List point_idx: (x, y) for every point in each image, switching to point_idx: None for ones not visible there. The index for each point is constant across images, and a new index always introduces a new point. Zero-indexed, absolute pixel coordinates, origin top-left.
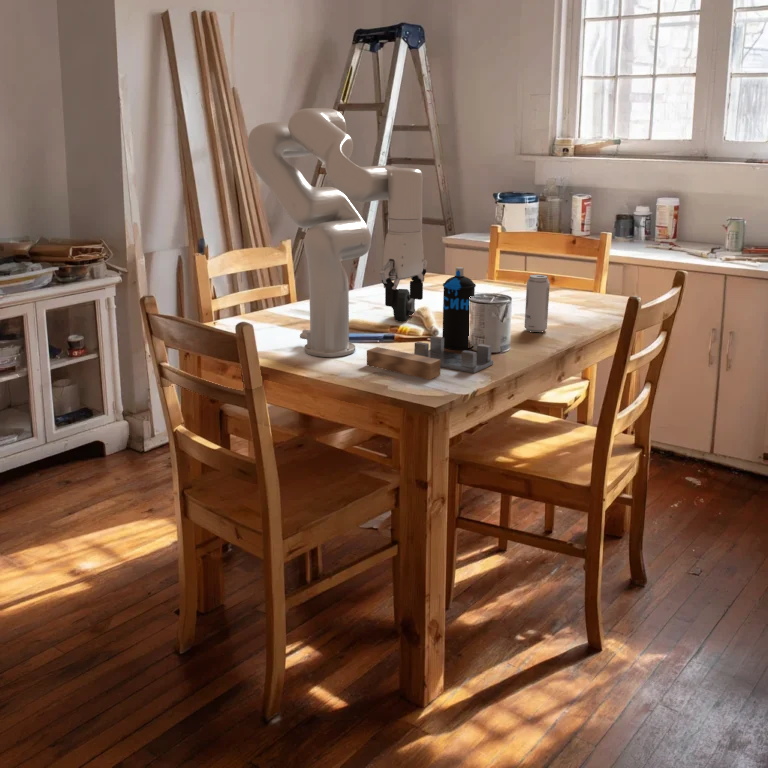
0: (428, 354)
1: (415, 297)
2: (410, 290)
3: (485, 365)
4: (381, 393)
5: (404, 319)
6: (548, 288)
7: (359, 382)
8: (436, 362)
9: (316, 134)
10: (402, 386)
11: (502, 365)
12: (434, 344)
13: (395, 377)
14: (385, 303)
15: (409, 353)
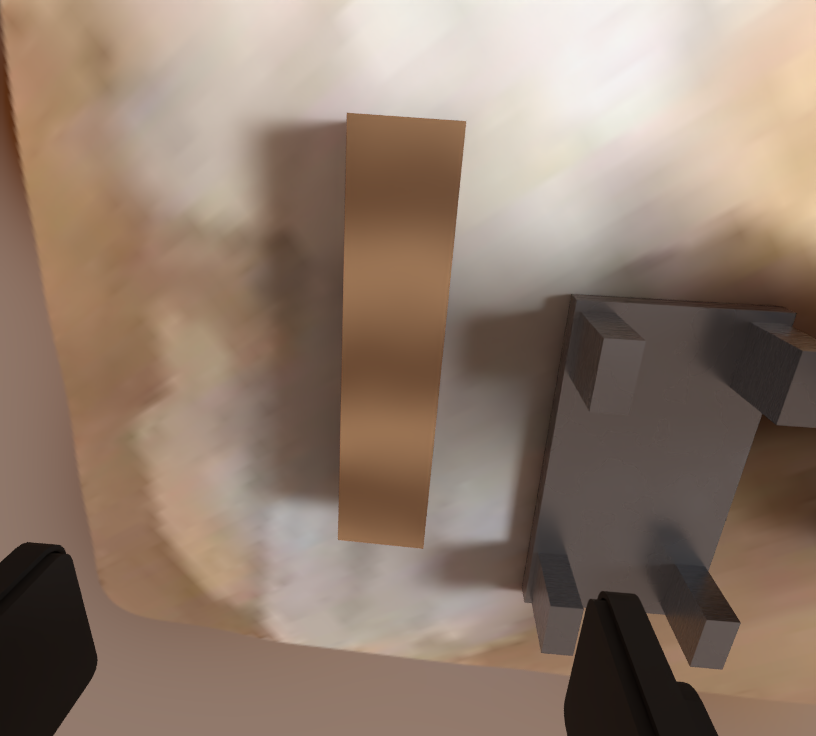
0: (668, 349)
1: (580, 672)
2: (622, 701)
3: None
4: (75, 423)
5: None
6: None
7: (111, 267)
8: (387, 541)
9: None
10: (201, 447)
11: None
12: (765, 364)
13: (282, 364)
14: (13, 554)
15: (439, 380)
